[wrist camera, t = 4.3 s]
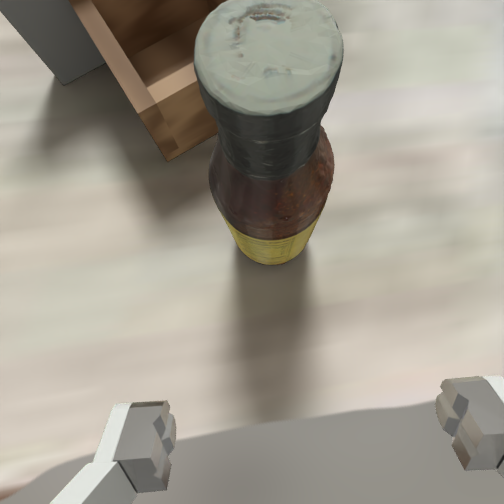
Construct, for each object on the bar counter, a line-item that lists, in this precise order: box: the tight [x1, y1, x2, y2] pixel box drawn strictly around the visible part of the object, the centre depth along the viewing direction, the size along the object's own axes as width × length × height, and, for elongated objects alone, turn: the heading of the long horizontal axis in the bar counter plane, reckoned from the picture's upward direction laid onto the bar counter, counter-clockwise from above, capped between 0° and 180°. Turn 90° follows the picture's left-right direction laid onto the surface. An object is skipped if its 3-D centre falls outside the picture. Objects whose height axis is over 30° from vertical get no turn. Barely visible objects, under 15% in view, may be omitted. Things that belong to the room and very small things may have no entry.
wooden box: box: [68, 0, 228, 162], centre depth 28 cm, size 12×12×7 cm
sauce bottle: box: [193, 0, 343, 265], centre depth 18 cm, size 7×6×20 cm
